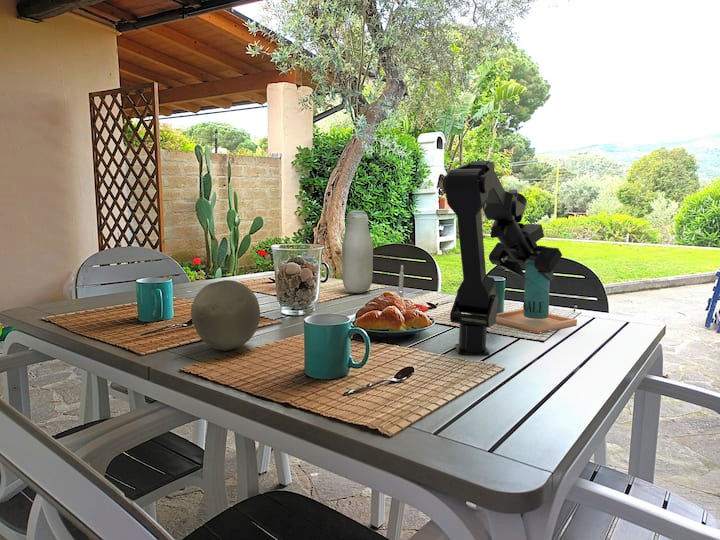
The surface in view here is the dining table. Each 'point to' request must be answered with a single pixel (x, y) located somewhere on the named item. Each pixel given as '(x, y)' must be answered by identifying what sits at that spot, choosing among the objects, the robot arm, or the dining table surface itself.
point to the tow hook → (400, 292)
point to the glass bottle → (357, 253)
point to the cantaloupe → (225, 314)
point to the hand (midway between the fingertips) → (536, 277)
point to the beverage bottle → (535, 291)
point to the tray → (533, 321)
